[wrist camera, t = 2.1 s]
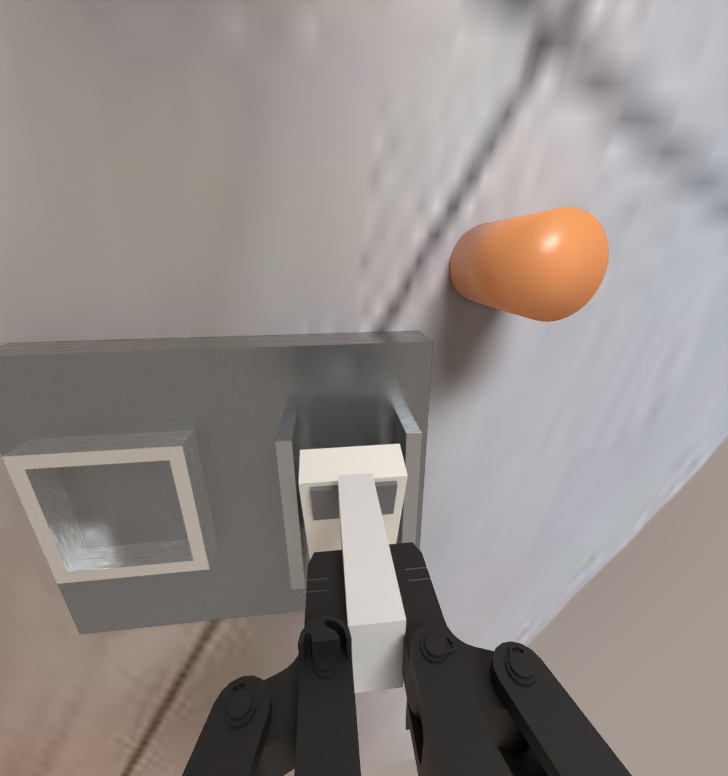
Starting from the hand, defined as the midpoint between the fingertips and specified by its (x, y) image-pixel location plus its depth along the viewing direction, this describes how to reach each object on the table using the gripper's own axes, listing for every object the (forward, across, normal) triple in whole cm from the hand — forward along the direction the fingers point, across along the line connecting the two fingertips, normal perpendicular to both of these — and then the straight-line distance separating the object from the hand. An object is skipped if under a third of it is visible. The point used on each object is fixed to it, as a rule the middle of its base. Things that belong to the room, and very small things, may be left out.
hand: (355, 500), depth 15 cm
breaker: (+3, 0, -3) cm, 5 cm away
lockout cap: (+9, +9, +10) cm, 16 cm away
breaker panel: (+9, -7, -4) cm, 12 cm away
